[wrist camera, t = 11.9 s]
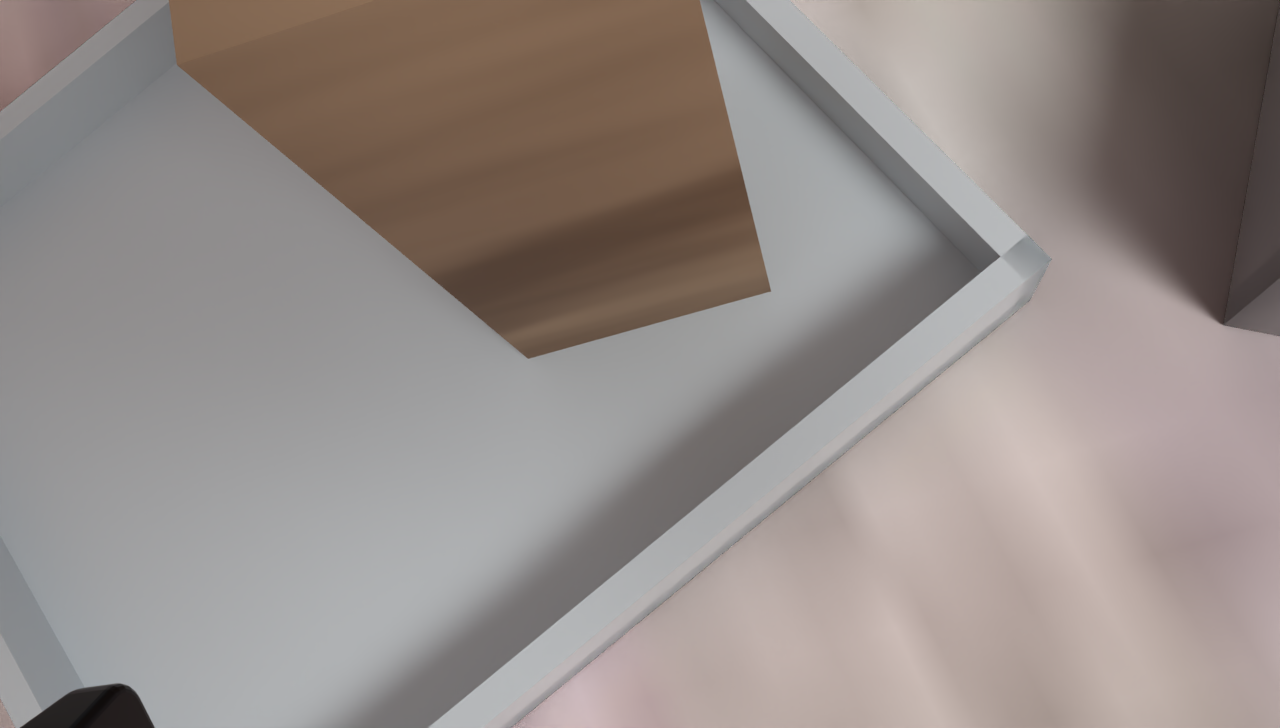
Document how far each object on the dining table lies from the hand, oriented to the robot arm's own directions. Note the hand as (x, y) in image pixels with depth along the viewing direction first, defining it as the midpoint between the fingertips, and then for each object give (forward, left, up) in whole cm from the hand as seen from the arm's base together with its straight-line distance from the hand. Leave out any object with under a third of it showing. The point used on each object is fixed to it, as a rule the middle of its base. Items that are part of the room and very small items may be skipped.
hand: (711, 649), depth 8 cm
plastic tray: (-2, +11, -13) cm, 17 cm away
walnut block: (+3, +9, -12) cm, 15 cm away
